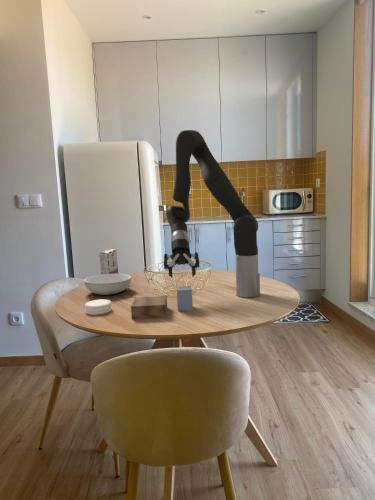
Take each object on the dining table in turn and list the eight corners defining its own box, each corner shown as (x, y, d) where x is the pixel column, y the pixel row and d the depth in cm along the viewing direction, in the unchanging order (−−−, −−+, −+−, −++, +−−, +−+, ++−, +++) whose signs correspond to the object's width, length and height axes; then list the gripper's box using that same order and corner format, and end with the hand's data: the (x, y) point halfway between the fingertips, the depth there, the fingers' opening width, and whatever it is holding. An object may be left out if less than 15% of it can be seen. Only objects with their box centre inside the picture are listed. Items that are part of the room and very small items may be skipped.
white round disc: (106, 315, 144) (105, 306, 143) (81, 315, 145) (80, 306, 145) (115, 307, 153) (115, 298, 153) (91, 307, 155) (91, 298, 154)
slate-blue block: (191, 306, 150) (190, 286, 149) (192, 310, 145) (191, 289, 143) (177, 307, 150) (176, 286, 148) (177, 311, 144) (176, 290, 143)
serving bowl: (123, 299, 165) (122, 283, 164) (77, 298, 169) (75, 283, 168) (137, 287, 185) (136, 273, 184) (96, 287, 189) (95, 273, 188)
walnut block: (167, 308, 149) (166, 295, 149) (165, 318, 138) (165, 304, 137) (136, 309, 149) (135, 297, 149) (131, 320, 138) (131, 306, 137)
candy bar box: (110, 280, 202) (107, 249, 200) (119, 280, 201) (116, 249, 199) (101, 285, 192) (98, 252, 189) (110, 285, 191) (108, 252, 188)
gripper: (162, 238, 159) (164, 271, 149) (197, 237, 159) (200, 269, 150) (163, 249, 165) (164, 282, 155) (196, 248, 165) (200, 280, 156)
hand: (182, 276), depth 152 cm, fingers open, 8 cm apart
